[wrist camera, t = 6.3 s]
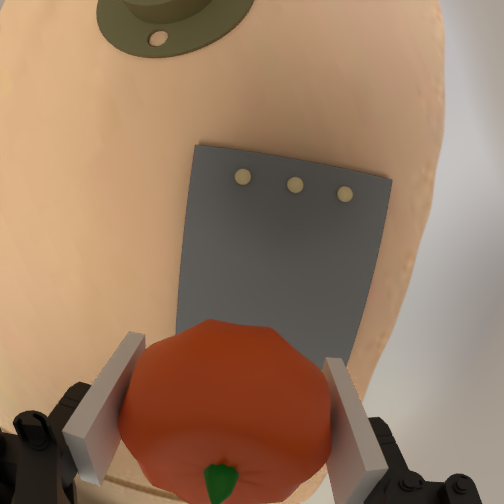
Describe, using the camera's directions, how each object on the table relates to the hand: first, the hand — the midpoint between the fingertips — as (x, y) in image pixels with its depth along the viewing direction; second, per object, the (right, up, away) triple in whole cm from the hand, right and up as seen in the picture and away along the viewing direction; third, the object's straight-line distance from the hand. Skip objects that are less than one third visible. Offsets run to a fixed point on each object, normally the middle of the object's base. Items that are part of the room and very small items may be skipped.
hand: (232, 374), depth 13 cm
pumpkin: (0, 0, +1) cm, 1 cm away
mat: (+3, +4, +13) cm, 14 cm away
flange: (-6, +29, +8) cm, 31 cm away
